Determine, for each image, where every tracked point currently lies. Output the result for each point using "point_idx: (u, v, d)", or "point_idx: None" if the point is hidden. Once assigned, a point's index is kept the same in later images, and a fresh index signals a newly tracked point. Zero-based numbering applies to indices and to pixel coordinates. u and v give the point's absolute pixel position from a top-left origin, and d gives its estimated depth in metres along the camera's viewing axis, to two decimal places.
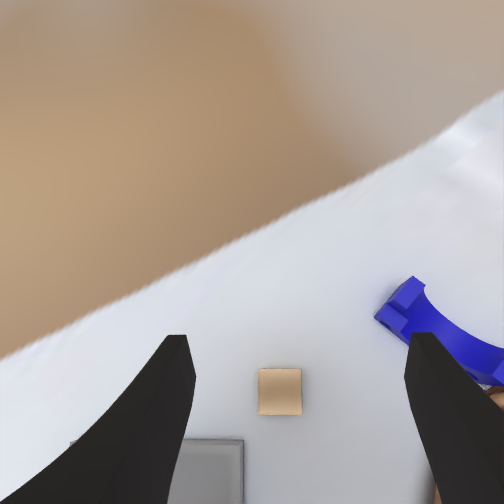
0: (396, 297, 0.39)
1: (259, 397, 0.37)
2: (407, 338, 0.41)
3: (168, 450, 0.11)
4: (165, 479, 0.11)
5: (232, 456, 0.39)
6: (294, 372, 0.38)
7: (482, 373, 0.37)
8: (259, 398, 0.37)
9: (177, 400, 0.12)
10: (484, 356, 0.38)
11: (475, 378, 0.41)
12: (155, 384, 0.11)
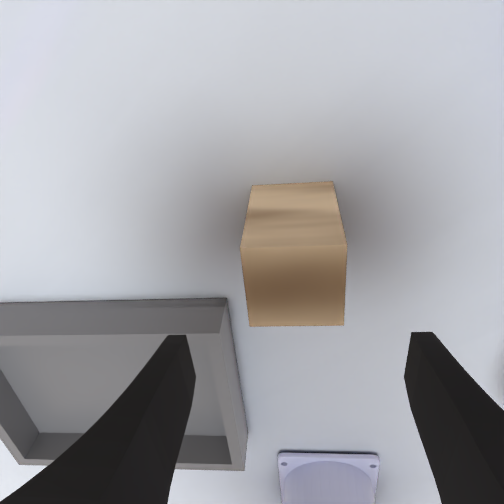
0: None
1: (248, 300, 0.17)
2: None
3: (168, 450, 0.11)
4: (165, 479, 0.11)
5: (209, 346, 0.22)
6: (331, 250, 0.15)
7: None
8: (248, 301, 0.17)
9: (177, 400, 0.12)
10: None
11: None
12: (155, 384, 0.11)
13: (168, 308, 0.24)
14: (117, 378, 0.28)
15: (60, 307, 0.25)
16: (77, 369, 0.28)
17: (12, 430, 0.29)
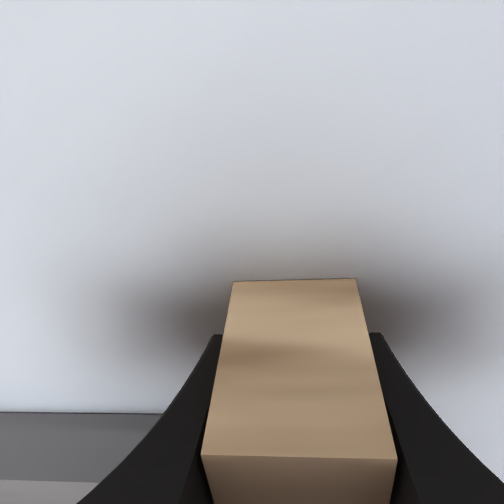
0: None
1: None
2: None
3: None
4: None
5: None
6: (367, 464, 0.08)
7: None
8: None
9: None
10: None
11: None
12: (211, 384, 0.11)
13: (121, 431, 0.17)
14: (62, 500, 0.21)
15: None
16: None
17: None
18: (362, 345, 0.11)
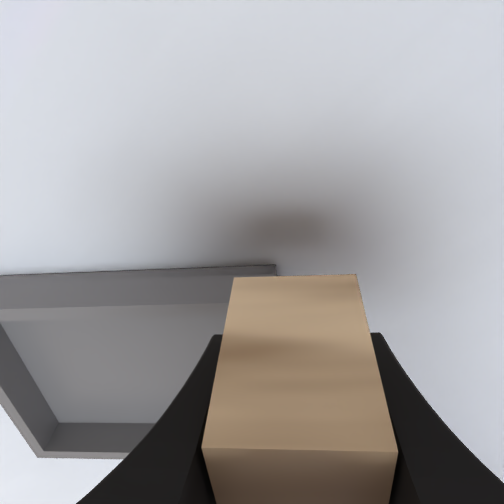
0: None
1: None
2: None
3: None
4: None
5: None
6: (367, 458, 0.08)
7: None
8: None
9: None
10: None
11: None
12: (211, 384, 0.11)
13: (210, 276, 0.21)
14: (147, 359, 0.25)
15: (86, 277, 0.22)
16: (103, 349, 0.25)
17: (30, 419, 0.26)
18: (362, 340, 0.11)
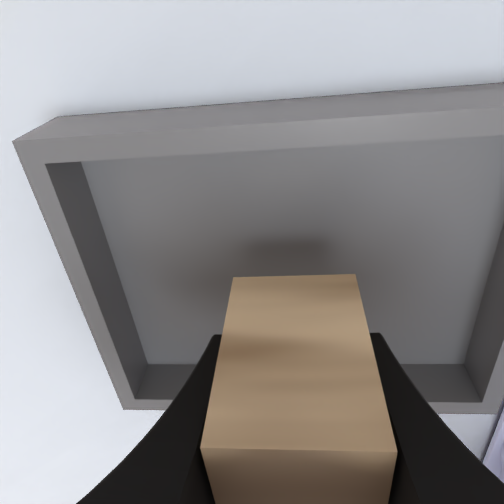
0: None
1: None
2: None
3: None
4: None
5: None
6: (367, 458, 0.08)
7: None
8: None
9: None
10: None
11: None
12: (211, 384, 0.11)
13: (455, 92, 0.13)
14: (304, 257, 0.17)
15: (242, 106, 0.14)
16: (240, 240, 0.17)
17: (122, 349, 0.18)
18: (362, 339, 0.11)
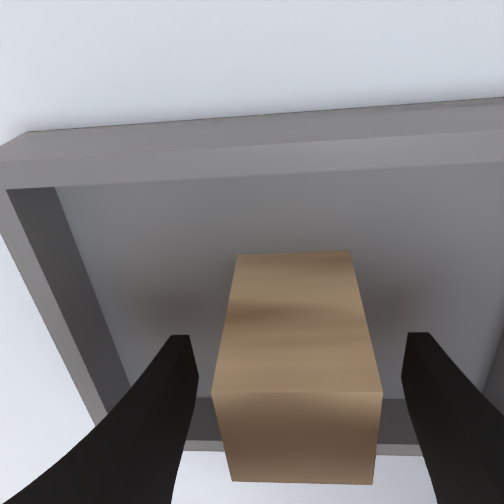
0: None
1: (228, 452, 0.11)
2: None
3: (172, 450, 0.11)
4: (169, 479, 0.11)
5: None
6: (357, 398, 0.09)
7: None
8: (229, 454, 0.11)
9: (180, 400, 0.12)
10: None
11: None
12: (159, 384, 0.11)
13: (480, 106, 0.11)
14: None
15: (234, 121, 0.12)
16: (234, 268, 0.15)
17: (103, 386, 0.17)
18: (354, 304, 0.12)
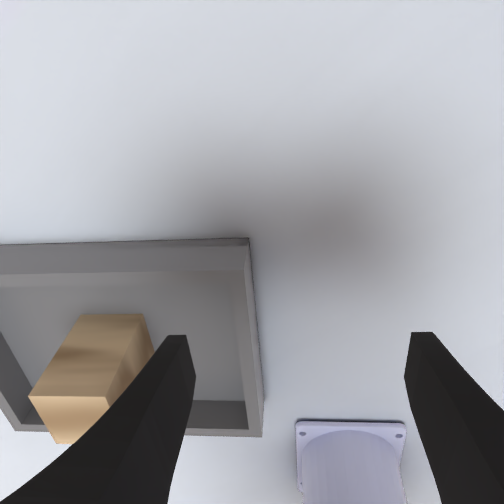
0: None
1: (48, 427, 0.21)
2: None
3: (168, 450, 0.11)
4: (165, 479, 0.11)
5: (231, 286, 0.20)
6: (95, 399, 0.20)
7: None
8: (48, 428, 0.21)
9: (177, 400, 0.12)
10: None
11: None
12: (155, 384, 0.11)
13: (184, 247, 0.22)
14: None
15: (63, 248, 0.23)
16: None
17: (8, 391, 0.27)
18: (122, 349, 0.22)
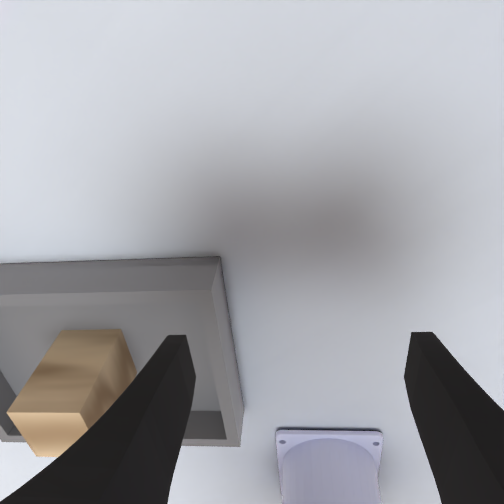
0: None
1: (27, 441, 0.22)
2: None
3: (168, 450, 0.11)
4: (165, 479, 0.11)
5: (201, 304, 0.21)
6: (70, 415, 0.20)
7: None
8: (28, 442, 0.22)
9: (177, 400, 0.12)
10: None
11: None
12: (155, 384, 0.11)
13: (157, 267, 0.22)
14: None
15: (41, 267, 0.23)
16: None
17: None
18: (99, 365, 0.23)
